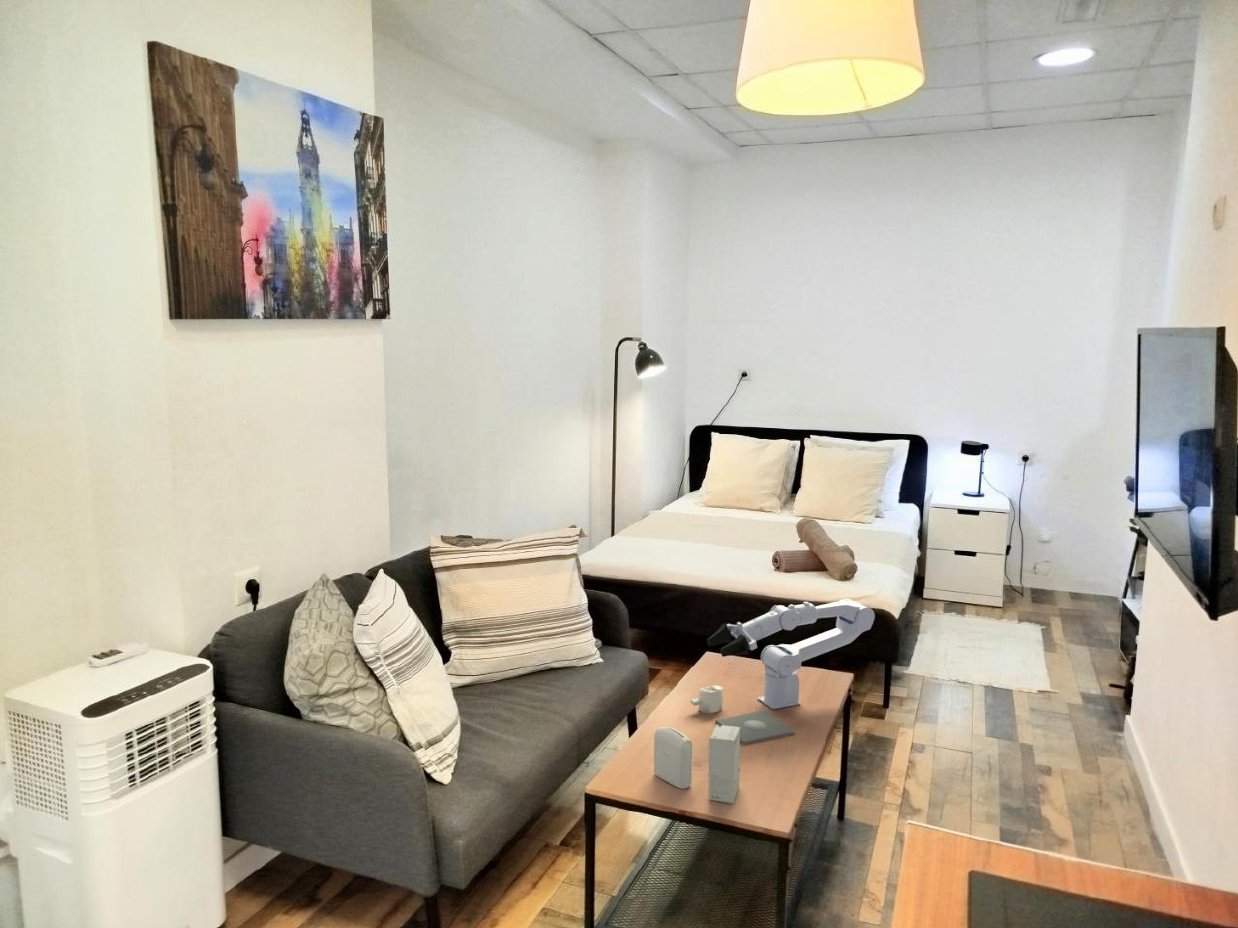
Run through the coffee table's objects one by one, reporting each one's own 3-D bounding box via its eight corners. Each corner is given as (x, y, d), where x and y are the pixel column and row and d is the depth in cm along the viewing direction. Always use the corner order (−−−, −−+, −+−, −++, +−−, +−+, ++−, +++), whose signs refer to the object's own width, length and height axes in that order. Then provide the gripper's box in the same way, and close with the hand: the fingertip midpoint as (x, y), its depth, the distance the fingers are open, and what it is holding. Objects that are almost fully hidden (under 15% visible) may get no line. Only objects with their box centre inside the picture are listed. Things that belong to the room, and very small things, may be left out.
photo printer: (651, 773, 206) (651, 724, 204) (664, 768, 208) (665, 720, 207) (680, 791, 198) (681, 740, 196) (694, 785, 200) (695, 735, 199)
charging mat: (765, 713, 240) (765, 709, 240) (795, 734, 228) (795, 730, 227) (715, 722, 234) (715, 719, 234) (743, 744, 221) (743, 741, 221)
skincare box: (733, 804, 192) (735, 741, 190) (706, 800, 194) (708, 737, 192) (739, 786, 200) (741, 725, 198) (714, 782, 202) (715, 722, 200)
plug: (717, 704, 245) (718, 684, 245) (725, 710, 242) (725, 689, 241) (688, 709, 242) (689, 689, 241) (695, 715, 238) (696, 694, 237)
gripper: (740, 608, 247) (699, 626, 243) (767, 625, 234) (724, 644, 230) (745, 630, 249) (704, 648, 245) (772, 648, 236) (730, 667, 231)
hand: (714, 647), depth 237 cm, fingers open, 7 cm apart
